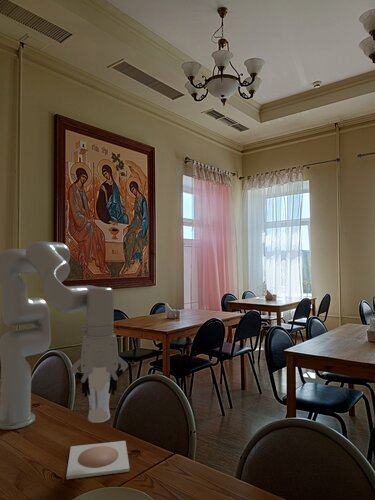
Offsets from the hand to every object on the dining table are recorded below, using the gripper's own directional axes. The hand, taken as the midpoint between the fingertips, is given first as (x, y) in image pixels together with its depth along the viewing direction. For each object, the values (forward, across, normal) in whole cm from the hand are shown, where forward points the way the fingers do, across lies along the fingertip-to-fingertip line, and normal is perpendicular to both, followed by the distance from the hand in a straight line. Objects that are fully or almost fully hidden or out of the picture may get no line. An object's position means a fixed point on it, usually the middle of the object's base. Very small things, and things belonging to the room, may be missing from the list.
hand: (99, 393), depth 106 cm
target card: (+18, 0, 0) cm, 18 cm away
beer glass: (+7, 0, 0) cm, 7 cm away
